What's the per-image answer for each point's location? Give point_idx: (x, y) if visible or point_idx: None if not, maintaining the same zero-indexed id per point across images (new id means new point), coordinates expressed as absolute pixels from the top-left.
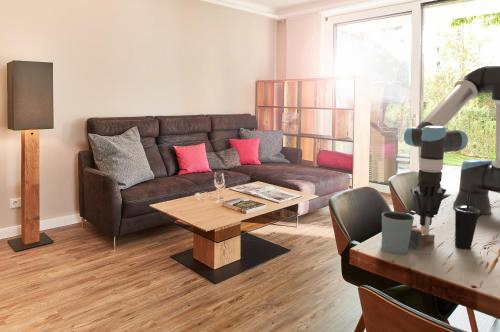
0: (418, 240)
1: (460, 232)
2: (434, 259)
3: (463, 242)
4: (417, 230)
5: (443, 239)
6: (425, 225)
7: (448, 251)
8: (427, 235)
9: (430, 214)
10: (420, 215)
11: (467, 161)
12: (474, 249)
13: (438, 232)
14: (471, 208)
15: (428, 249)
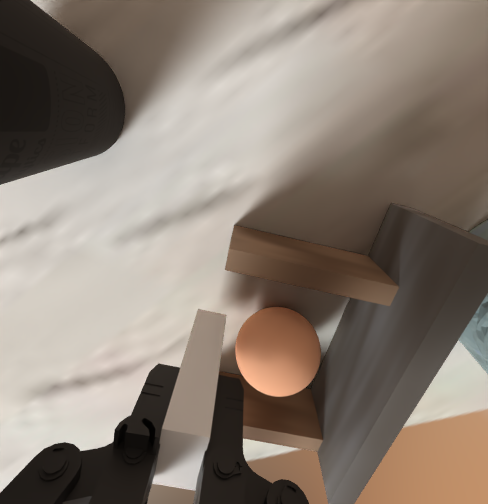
0: (454, 227)
1: (43, 52)
2: (479, 21)
3: (81, 44)
4: (292, 354)
5: (100, 260)
6: (217, 371)
7: (242, 91)
8: (287, 270)
9: (147, 470)
10: (293, 491)
11: None
12: None
13: (47, 343)
14: None
15: (336, 184)
